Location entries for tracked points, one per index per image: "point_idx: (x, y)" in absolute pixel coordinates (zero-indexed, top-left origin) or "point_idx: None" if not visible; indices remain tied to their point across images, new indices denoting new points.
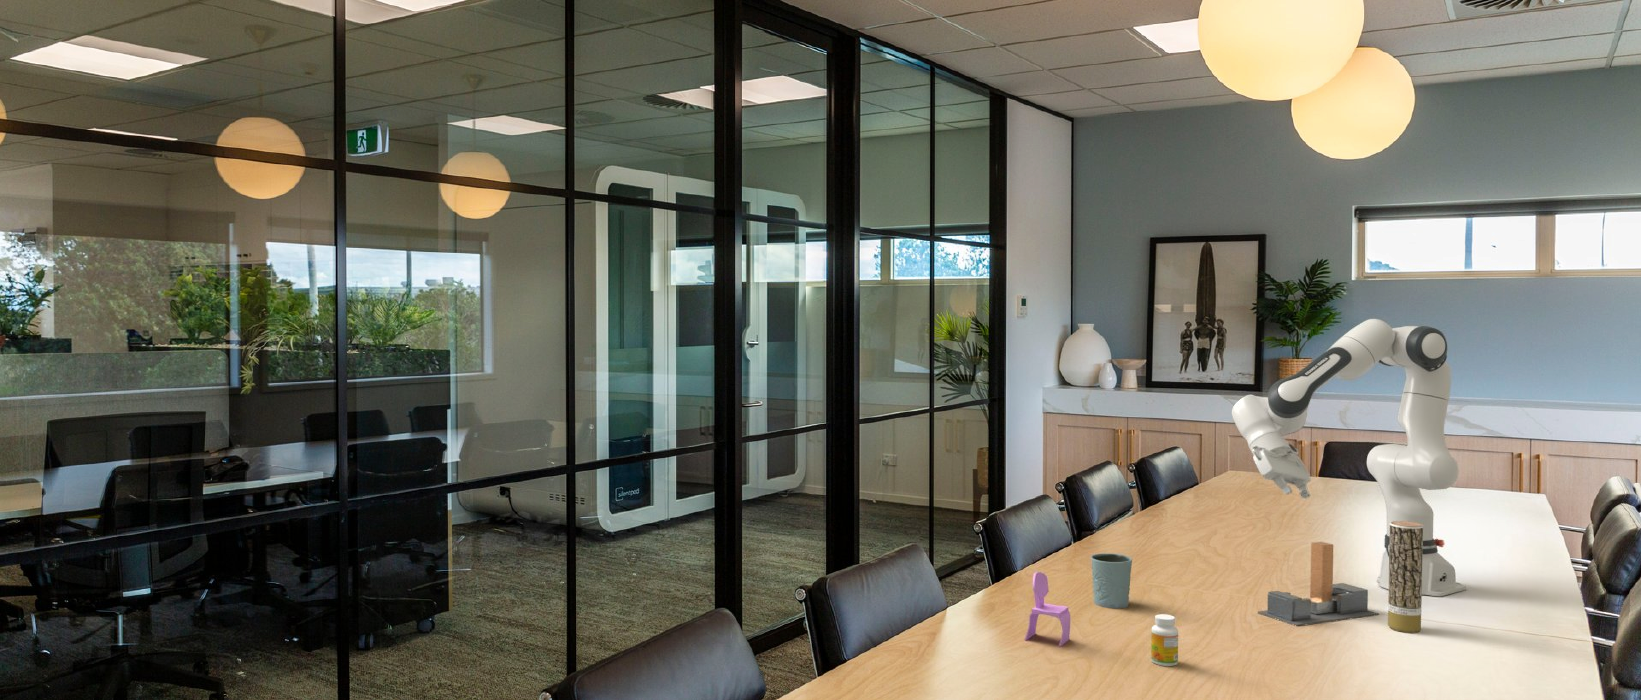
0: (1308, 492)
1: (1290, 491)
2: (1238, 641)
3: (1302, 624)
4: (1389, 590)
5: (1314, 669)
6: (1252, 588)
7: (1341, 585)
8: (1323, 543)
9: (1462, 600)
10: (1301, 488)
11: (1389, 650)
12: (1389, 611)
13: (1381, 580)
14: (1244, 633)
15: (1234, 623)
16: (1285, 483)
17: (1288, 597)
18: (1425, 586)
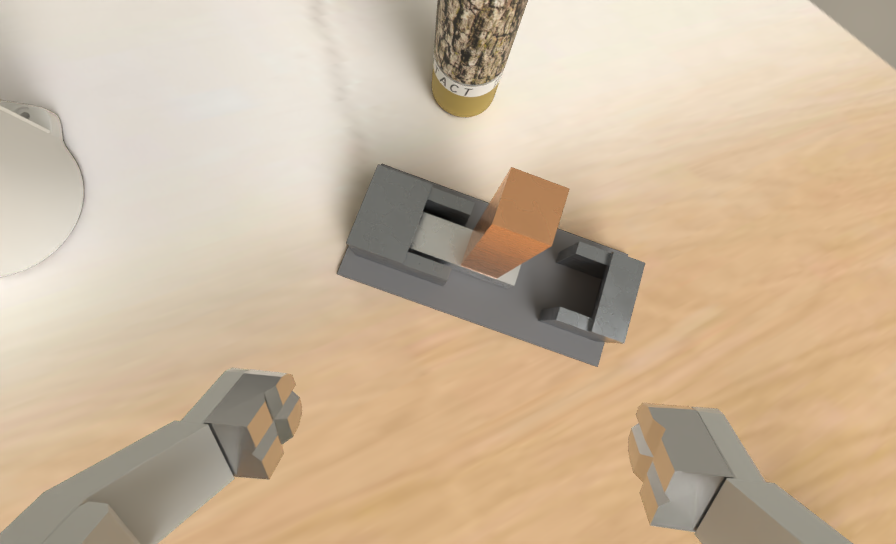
0: (223, 390)
1: (686, 406)
2: (822, 288)
3: (610, 248)
4: (502, 55)
5: (848, 124)
6: (355, 511)
7: (382, 233)
8: (525, 203)
9: (53, 67)
10: (158, 510)
11: (636, 70)
12: (490, 90)
13: (17, 257)
14: (765, 307)
15: (717, 359)
16: (800, 507)
17: (637, 277)
18: (39, 133)
